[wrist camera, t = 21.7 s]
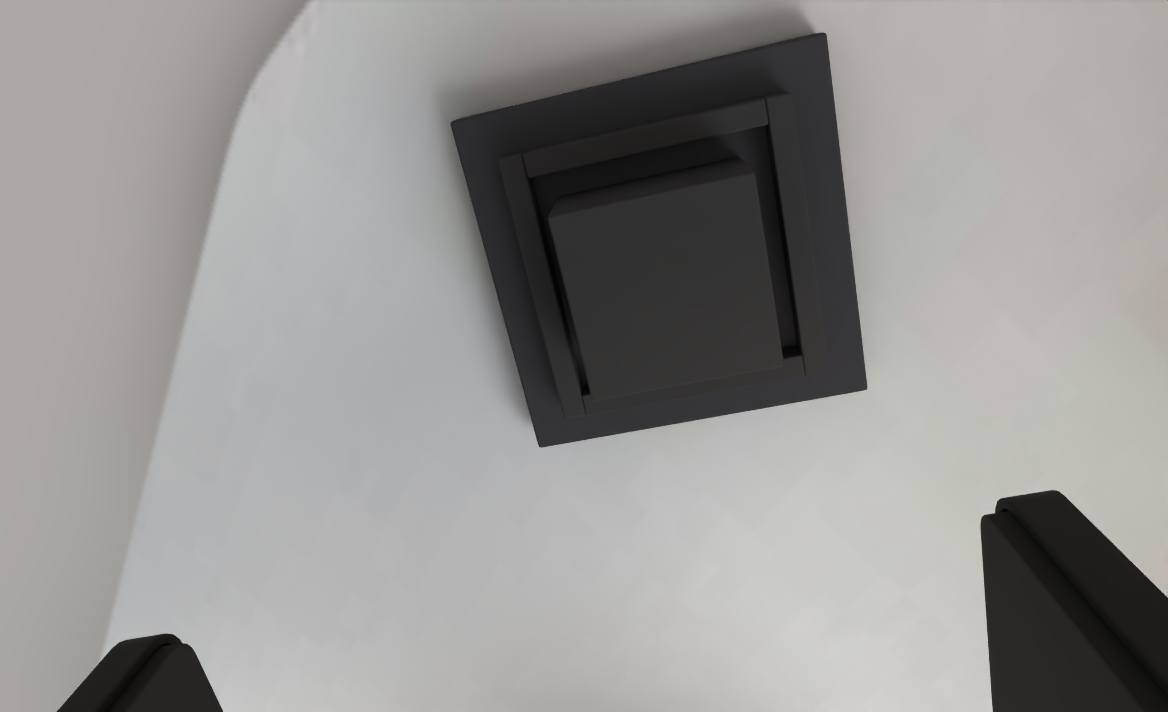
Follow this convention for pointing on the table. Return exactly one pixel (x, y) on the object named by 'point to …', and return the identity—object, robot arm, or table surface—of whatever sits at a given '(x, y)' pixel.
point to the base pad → (654, 146)
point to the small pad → (668, 279)
